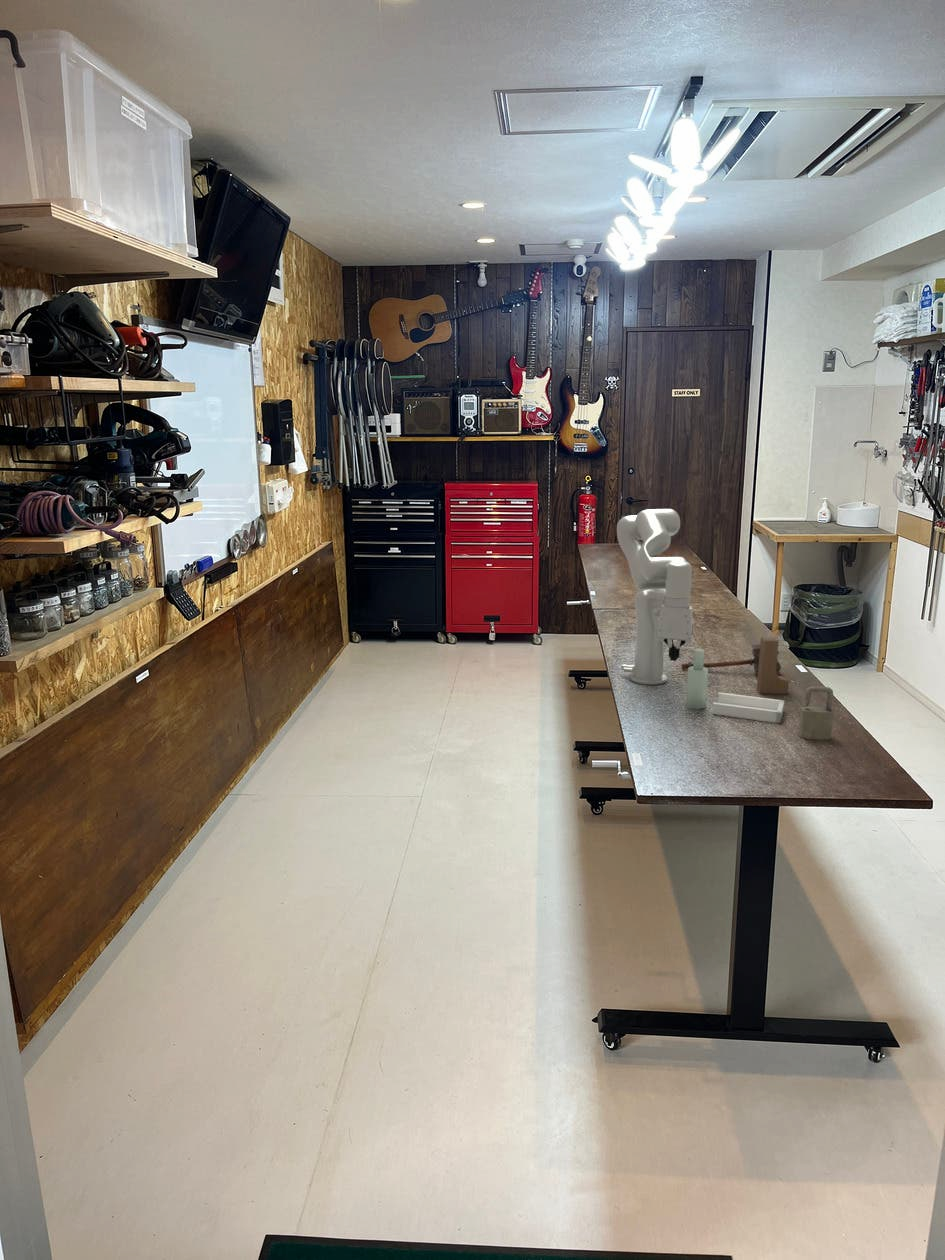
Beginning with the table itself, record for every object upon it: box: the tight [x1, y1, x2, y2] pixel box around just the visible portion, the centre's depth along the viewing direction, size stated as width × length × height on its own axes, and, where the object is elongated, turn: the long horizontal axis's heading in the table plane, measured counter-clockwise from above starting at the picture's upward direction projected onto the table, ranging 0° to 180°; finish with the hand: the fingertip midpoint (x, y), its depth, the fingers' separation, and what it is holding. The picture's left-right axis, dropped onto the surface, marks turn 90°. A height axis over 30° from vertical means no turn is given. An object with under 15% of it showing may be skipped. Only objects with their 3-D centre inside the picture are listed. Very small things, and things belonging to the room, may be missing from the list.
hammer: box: [681, 643, 782, 677], centre depth 313 cm, size 7×33×10 cm, turn 78°
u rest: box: [712, 692, 785, 724], centre depth 275 cm, size 20×11×3 cm, turn 67°
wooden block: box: [756, 636, 790, 695], centre depth 292 cm, size 9×4×18 cm, turn 91°
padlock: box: [798, 685, 834, 740], centre depth 254 cm, size 4×8×15 cm, turn 83°
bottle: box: [685, 648, 709, 710], centre depth 279 cm, size 6×6×18 cm
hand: (673, 659), depth 280 cm, fingers closed
